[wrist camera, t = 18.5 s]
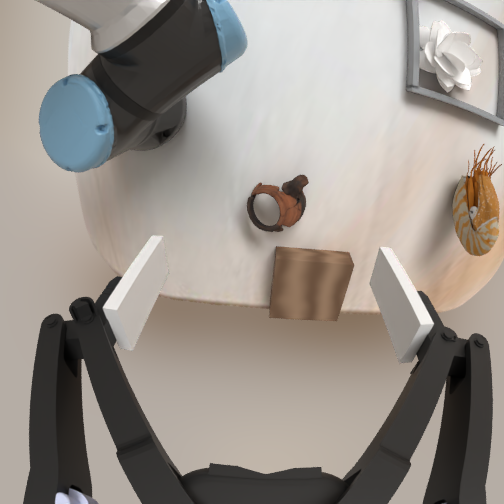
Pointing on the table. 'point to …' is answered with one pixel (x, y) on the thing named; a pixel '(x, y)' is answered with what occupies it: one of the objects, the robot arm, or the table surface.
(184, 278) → the table surface
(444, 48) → the lotus flower
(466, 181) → the nautilus
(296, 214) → the broken clay pottery vessel
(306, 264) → the brown wooden square block
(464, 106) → the slate frame
